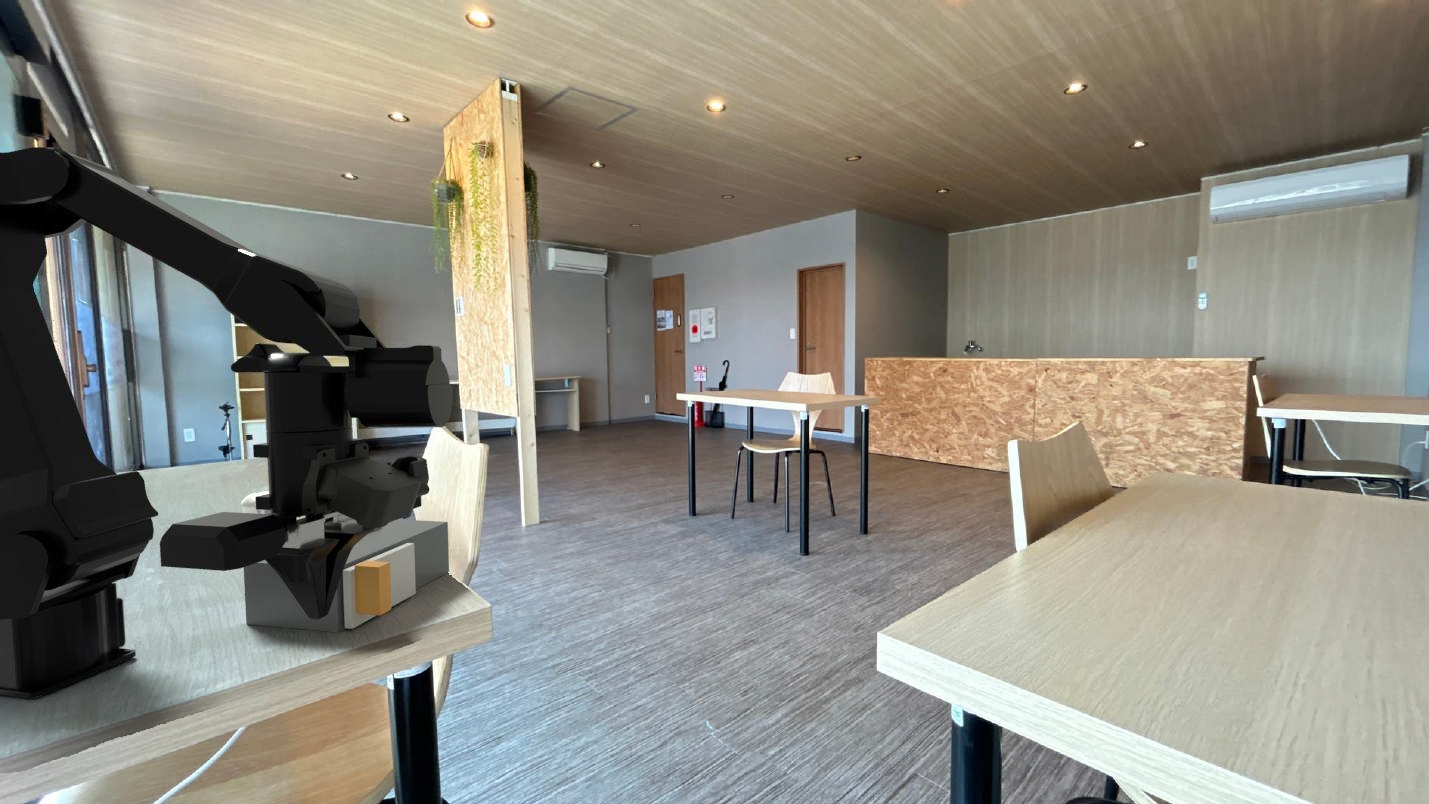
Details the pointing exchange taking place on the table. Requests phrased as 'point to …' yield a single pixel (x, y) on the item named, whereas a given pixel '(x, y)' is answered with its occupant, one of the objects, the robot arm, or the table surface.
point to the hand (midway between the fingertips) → (318, 617)
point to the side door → (378, 584)
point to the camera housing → (281, 609)
